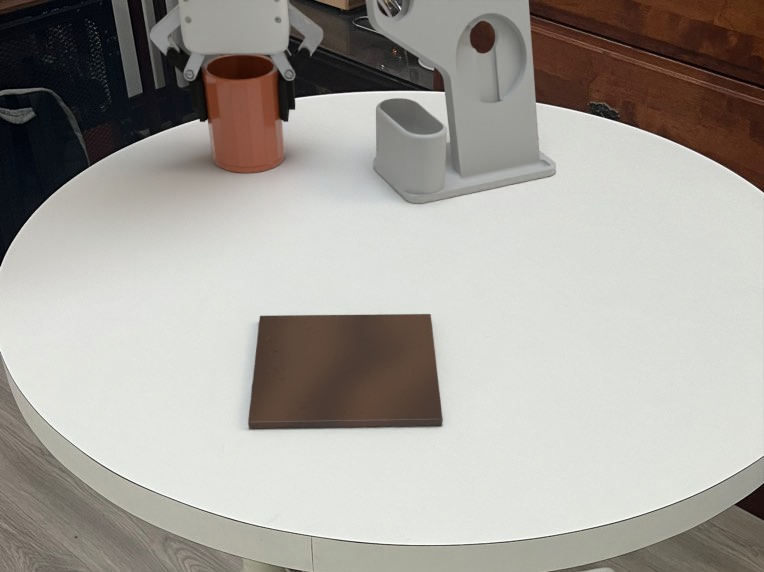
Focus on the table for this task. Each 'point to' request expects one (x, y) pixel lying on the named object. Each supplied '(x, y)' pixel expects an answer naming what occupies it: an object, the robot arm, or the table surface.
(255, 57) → the cup
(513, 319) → the table surface
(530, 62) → the phone holder
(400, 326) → the coaster
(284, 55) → the robot arm
